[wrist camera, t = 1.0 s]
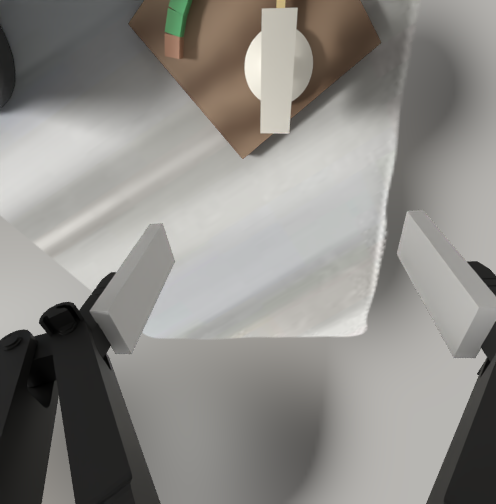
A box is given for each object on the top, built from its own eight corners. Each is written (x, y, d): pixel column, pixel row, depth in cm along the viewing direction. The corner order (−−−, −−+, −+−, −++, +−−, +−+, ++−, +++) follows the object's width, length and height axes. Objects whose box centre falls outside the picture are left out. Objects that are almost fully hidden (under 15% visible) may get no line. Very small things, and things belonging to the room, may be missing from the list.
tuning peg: (245, 108, 33) (233, 133, 24) (243, -46, 26) (223, -91, 17) (307, 108, 33) (317, 133, 24) (323, -49, 25) (345, -97, 16)
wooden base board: (135, 24, 32) (121, 23, 29) (269, -167, 23) (268, -195, 21) (244, 154, 39) (241, 163, 36) (376, 42, 30) (385, 42, 28)
